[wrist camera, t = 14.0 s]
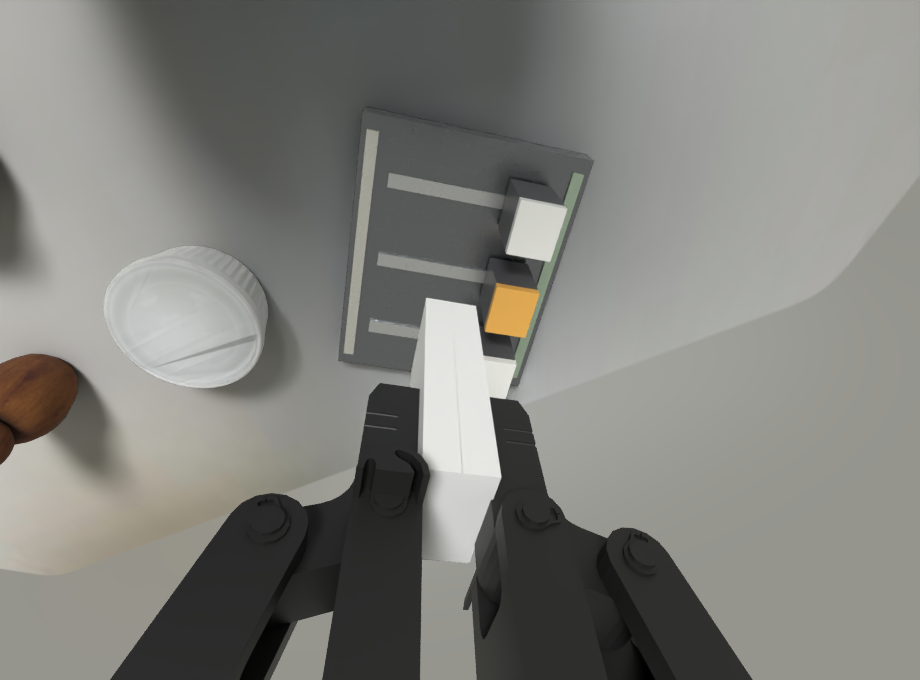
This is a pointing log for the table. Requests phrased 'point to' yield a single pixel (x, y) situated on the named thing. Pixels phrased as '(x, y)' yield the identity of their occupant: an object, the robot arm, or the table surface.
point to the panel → (438, 228)
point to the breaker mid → (508, 298)
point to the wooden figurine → (33, 398)
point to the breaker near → (531, 220)
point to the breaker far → (497, 362)
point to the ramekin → (188, 316)
